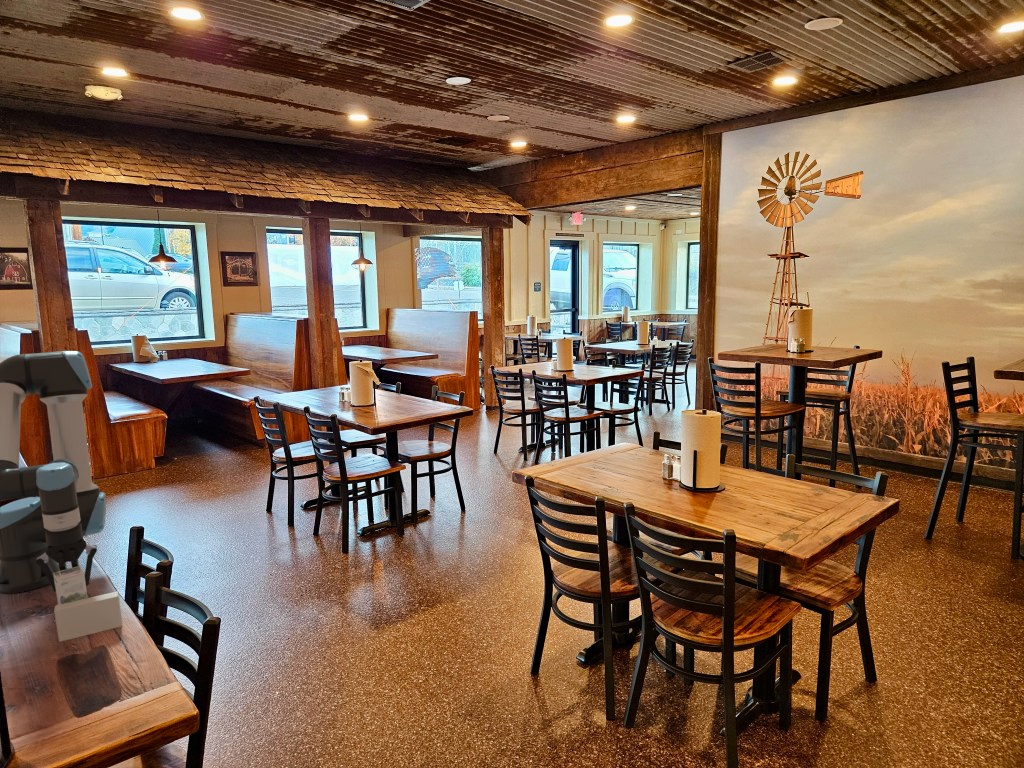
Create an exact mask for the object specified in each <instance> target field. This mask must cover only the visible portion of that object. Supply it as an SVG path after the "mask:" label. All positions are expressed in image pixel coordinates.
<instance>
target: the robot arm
mask: <svg viewBox="0 0 1024 768" xmlns="http://www.w3.org/2000/svg"><path fill="white" fill-rule="evenodd" d="M85 359H86V358H85V357H84V354H83V353H82V352H81V351H77V350H61V351H60V350H59V351H47V352H46V351H45V352H39V353H37V352H35V353H34V352H33V353H21V354H16V355H12V356H10V357H7V358H5V359H4V360H3V361H1V362H0V502H4V501H9V500H13V501H11V502H9V503H7V504H4V505H2V506H0V593H2V594H18V592H20V593H24V591H26V592H29V591H28V590H30V591H33V590H32V589H34V590H37V589H40V588H43V587H46V586H47V584H48V585H50V586H51V588H52V590H53V592H54V593H56V588H55V582H54V575H53V573H54V572H58V571H61V570H65V569H68V567H67V563H68V562H70V563H71V564H70V565H71V568H73V567H77V566H80V564H79V559H80V557H81V556H82V554H83V552H84V550H85V554H86V555H87V557H86V564H85V571H84V575H85V582H86V587H87V586H89V585H90V579H91V573H92V566H93V560H94V556H95V555H96V554H97V551H98V546H97V545H96V544H94V545H91V544H88V543H87V541H86V539H84V538H86V537H88V536H91V535H95V534H99V533H102V531H103V530H104V529H105V525H106V513H107V511H106V510H107V500H106V499H107V495H106V493H105V492H103V491H101V492H100V488H99V487H100V486H99V485H97V484H95V483H94V482H93V479H92V472H91V471H92V470H91V461H90V455H89V446H88V440H87V438H88V437H87V432H86V431H87V430H86V422H85V413H84V407H83V401H84V400H85V399H86V398H87V397H88V390H91V389H93V384H92V383H93V382H92V379H91V375H90V372H89V369H88V365H87V361H86V360H85ZM29 395H39V397H38V398H39V401H41V402H42V403H43V404H45V405H46V409H47V418H48V424H49V425H48V426H49V435H50V441H51V450H52V451H51V452H52V458H53V460H52V461H50V462H49V463H46V464H39V465H32V466H31V465H30V466H24V467H23V466H22V467H20V450H21V449H20V445H21V443H20V441H21V415H22V413H21V412H22V404H23V403H24V401H25V400H26V396H29ZM15 499H17V500H15ZM39 587H40V588H39ZM36 588H37V589H36Z"/></svg>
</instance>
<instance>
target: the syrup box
mask: <svg viewBox="0 0 1024 768" xmlns="http://www.w3.org/2000/svg"><path fill="white" fill-rule="evenodd" d="M53 575H54V582H55V588H56V592H55V595H56V600H57V605H59V604H64V603H68V602H73V601H77V600H82V599H86V598H89V597H88V591H87V586H86V582H85V572H84V571H83V569H82V567H81V566H80V565H79V566H77V567H73V568H72V567H70V568H67V569H65V570H61V571H58V572H54V573H53Z"/></svg>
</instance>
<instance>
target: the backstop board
mask: <svg viewBox="0 0 1024 768" xmlns="http://www.w3.org/2000/svg"><path fill="white" fill-rule="evenodd" d="M119 595H120V594H119V591H118V590H117V591H114V592H113V591H112V592H108V593H105V594H99V595H96V596H91V597H88V598H86V599H82V600H77V601H73V602H68V603H64V604H59V605H58V604H56V605H55V606H54V609H53V610H54V618H55V623H56V630H57V631H56V632H57V637H58V642H59V643H60V642H65V641H69V640H73V639H76V638H81V637H85V636H89V635H92V634H96V633H101V632H105V631H109V630H113V629H117V628H121V627H123V617H122V610H121V603H120V596H119ZM120 626H121V627H120ZM116 627H117V628H116Z"/></svg>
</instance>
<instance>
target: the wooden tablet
mask: <svg viewBox="0 0 1024 768" xmlns="http://www.w3.org/2000/svg"><path fill="white" fill-rule="evenodd" d="M109 651H110V650H109V649H108V647H107V646H106V645H104V644H101V645H97V646H96V647H93V648H92V649H91V650H90V651H89V650H88V652H87V653H73V654H70V655H66V656H63V657H61V658H59V659H57V661H56V672H57V676H58V678H59V683H60V686H61V688H62V690H63V694H64V696H65V698H66V700H67V704H68V705H69V708H70V709H71V712H72V713H73V714H74V715H75V716H76V717H79V718H80V717H83V716H86V715H89V714H94V713H96V712H99V711H101V710H103V709H104V708H107V707H110V706H112V705H113V704H115V703H117V702H118V701H120V700H121V697H122V686H121V683H120V680H119V677H118V675H117V672H116V669H115V666H114V662H113V660H112V656H111V654H110V652H109Z"/></svg>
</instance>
